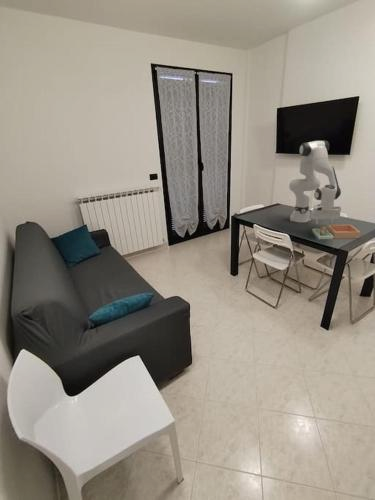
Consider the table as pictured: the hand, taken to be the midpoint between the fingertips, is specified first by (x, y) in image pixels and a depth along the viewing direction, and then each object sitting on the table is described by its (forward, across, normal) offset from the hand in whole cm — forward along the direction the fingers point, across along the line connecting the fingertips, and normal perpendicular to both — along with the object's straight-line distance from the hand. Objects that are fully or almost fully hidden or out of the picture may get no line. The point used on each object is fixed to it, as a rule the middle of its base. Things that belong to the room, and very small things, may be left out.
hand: (323, 223), depth 192 cm
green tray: (+10, 0, +1) cm, 10 cm away
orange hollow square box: (+10, -14, +1) cm, 18 cm away
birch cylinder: (+9, 0, +1) cm, 9 cm away
